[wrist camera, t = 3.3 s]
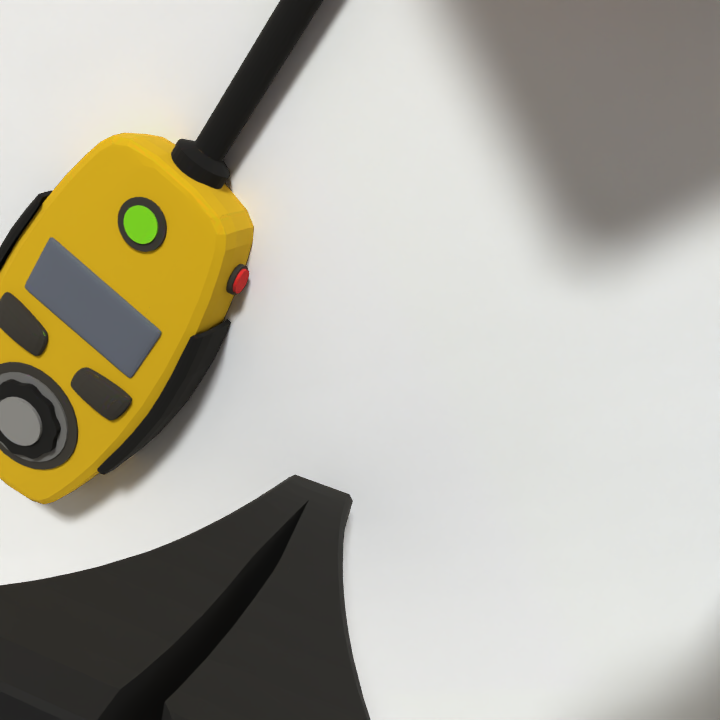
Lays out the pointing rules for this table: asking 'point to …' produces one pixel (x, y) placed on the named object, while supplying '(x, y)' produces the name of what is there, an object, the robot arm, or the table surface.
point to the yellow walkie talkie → (125, 287)
